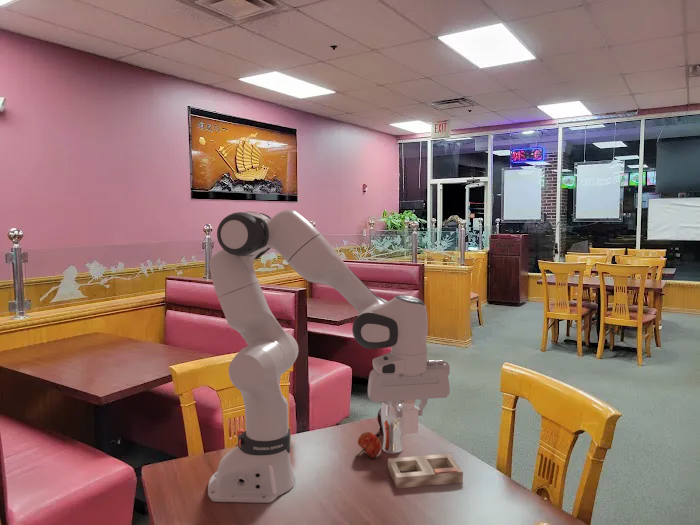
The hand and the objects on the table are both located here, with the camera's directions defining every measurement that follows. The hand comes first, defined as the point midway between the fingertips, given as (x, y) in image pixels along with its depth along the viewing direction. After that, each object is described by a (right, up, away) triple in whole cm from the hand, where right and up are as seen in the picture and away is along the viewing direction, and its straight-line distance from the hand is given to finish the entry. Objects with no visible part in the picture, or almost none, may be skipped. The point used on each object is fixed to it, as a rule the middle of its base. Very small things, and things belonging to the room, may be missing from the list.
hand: (408, 415), depth 128 cm
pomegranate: (-9, -19, +23) cm, 31 cm away
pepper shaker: (0, -4, 0) cm, 4 cm away
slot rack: (+6, -20, +12) cm, 24 cm away
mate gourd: (-3, -17, +38) cm, 42 cm away
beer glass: (-2, -18, +27) cm, 33 cm away
